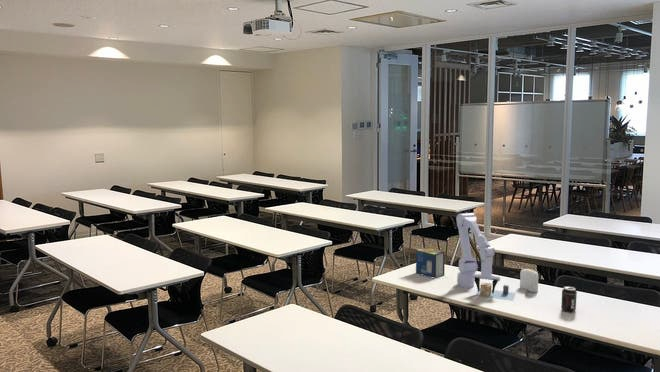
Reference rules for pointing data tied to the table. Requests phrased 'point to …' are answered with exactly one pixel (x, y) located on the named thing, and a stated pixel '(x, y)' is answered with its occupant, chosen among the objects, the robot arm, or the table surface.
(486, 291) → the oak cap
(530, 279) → the photo printer
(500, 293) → the light blue flat board
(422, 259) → the protein box
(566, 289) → the beverage can
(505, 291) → the black metal post
